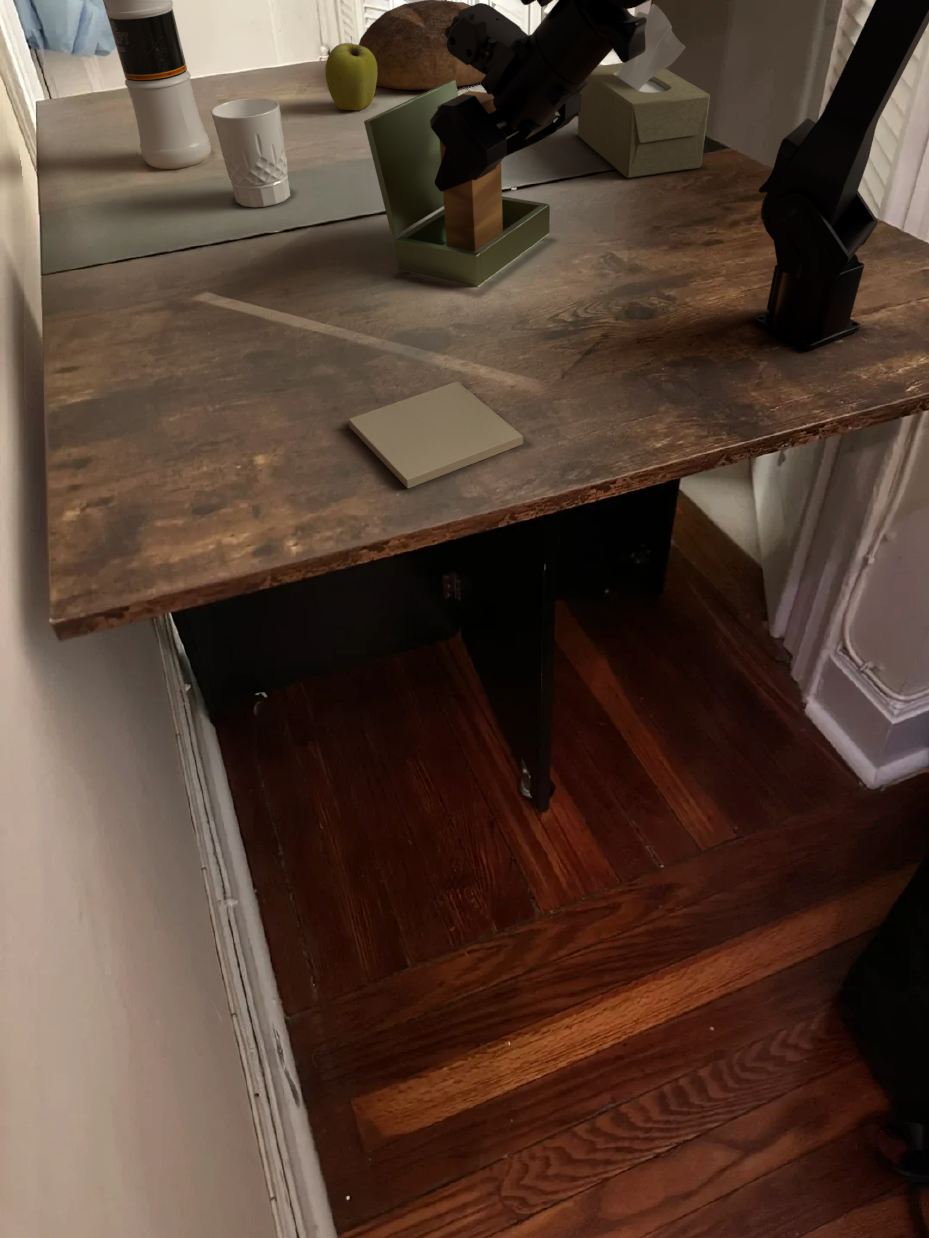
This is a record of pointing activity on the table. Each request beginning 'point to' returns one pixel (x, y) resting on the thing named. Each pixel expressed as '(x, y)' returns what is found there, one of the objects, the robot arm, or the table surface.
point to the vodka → (158, 83)
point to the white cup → (253, 150)
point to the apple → (351, 76)
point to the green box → (433, 258)
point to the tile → (434, 433)
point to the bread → (417, 47)
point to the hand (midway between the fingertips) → (460, 174)
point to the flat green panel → (409, 157)
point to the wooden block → (474, 202)
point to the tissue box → (645, 108)
